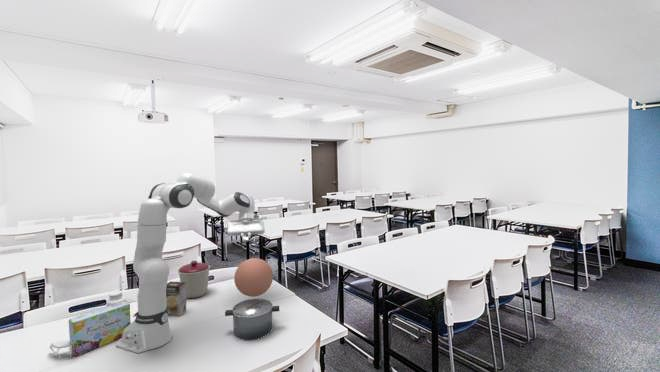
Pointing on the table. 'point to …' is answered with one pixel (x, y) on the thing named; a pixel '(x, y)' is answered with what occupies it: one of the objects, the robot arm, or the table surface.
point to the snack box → (98, 327)
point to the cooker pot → (252, 318)
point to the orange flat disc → (253, 277)
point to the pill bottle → (115, 298)
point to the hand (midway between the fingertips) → (245, 240)
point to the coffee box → (176, 298)
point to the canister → (195, 278)
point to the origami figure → (61, 346)
